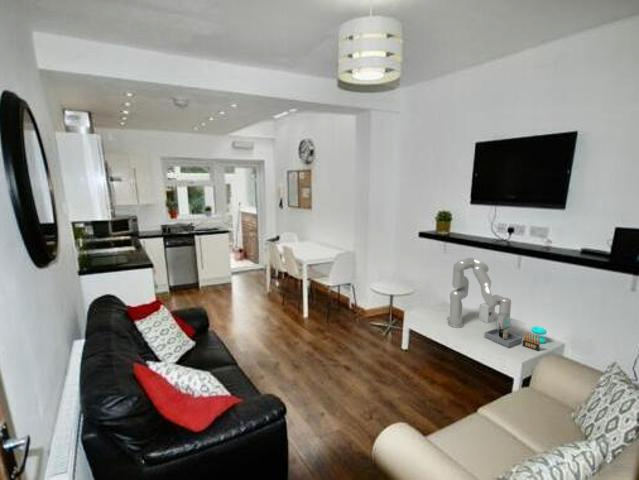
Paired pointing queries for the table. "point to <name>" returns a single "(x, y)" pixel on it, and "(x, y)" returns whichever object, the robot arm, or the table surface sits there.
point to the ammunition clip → (531, 341)
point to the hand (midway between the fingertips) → (502, 335)
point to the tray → (508, 342)
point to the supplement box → (486, 313)
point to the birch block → (504, 334)
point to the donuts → (539, 333)
